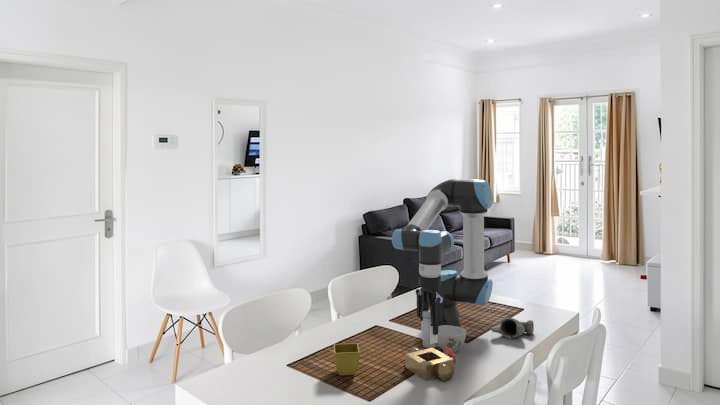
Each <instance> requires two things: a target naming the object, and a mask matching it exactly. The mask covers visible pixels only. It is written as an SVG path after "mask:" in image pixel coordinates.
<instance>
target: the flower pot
mask: <svg viewBox="0 0 720 405" xmlns="http://www.w3.org/2000/svg"><path fill="white" fill-rule="evenodd" d="M360 351H361V350H360V347H359V343H357V342H356V343H355V342H354V343H353V342H351V343H335V344H334V343H333V356H334V362H335V368H336V372H337V373H338V375H339V376H341V375H342V376H354V375H356V373H357V371H358V368H359V364H360V355H361V354H360Z"/></svg>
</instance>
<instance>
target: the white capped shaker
mask: <svg viewBox="0 0 720 405" xmlns="http://www.w3.org/2000/svg"><path fill="white" fill-rule="evenodd" d="M422 317H423V339H422V346H423V347H425V348H427V349H429V348H436V347H435V346H436V345H437V343H434V344H430V324H432V322H431V314H430V310H424V311H423V314H422Z"/></svg>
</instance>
